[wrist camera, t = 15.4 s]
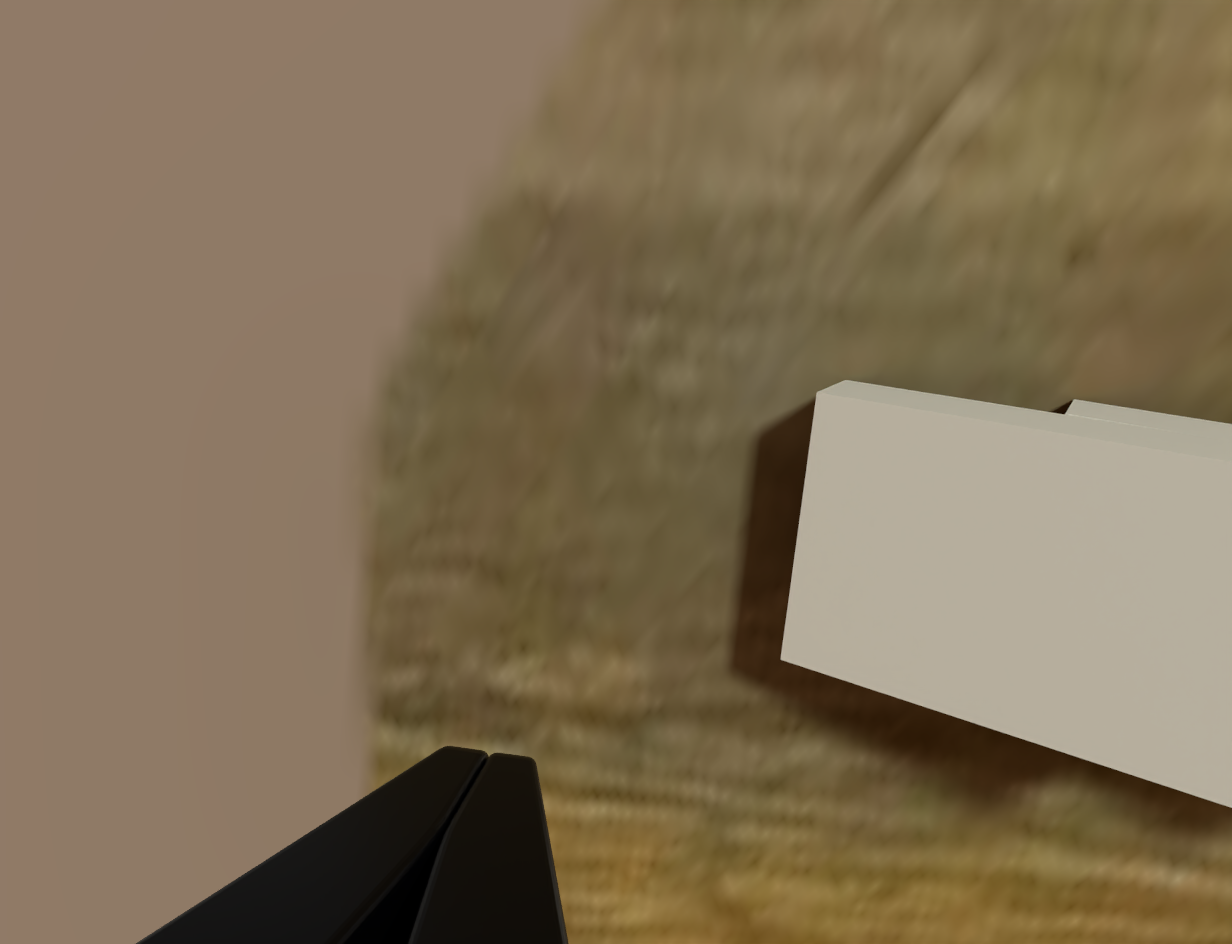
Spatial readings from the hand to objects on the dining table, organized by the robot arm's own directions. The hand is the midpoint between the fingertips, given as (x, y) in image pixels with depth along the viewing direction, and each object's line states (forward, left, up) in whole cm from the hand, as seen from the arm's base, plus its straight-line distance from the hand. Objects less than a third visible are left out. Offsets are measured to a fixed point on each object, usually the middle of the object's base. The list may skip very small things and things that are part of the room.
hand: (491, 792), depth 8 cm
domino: (-2, -3, -9) cm, 9 cm away
